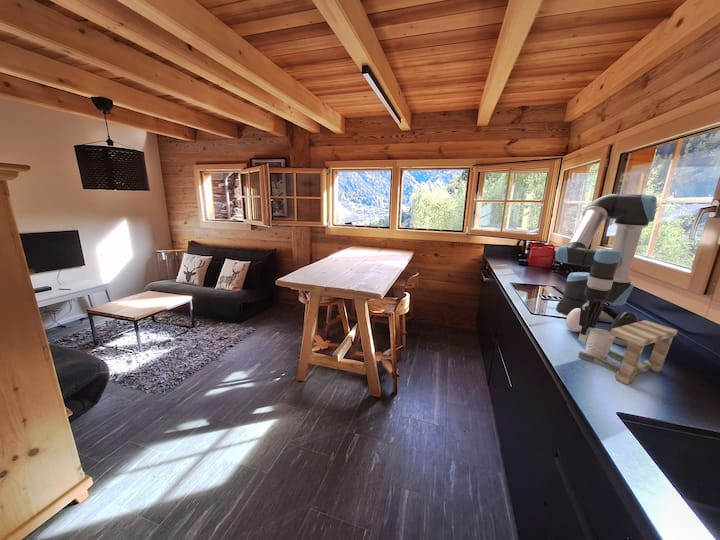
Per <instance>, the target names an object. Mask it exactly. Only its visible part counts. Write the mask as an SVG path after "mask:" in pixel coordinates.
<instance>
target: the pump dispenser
mask: <svg viewBox="0 0 720 540" xmlns="http://www.w3.org/2000/svg"><path fill="white" fill-rule="evenodd" d="M636 322H640V321H639V317H638V316H637V314H636V313H634V312H632V311H628V310H627V311H625V310H624V311H622V312H620V313H619V314H618V315H617V316H616V317H615V318H614V320H612V322H611V324H610V326H609V328H608V330H607V331H609V332H610V331H611V329H613V328H617V327H621V326H624V325H628V324H632V323H636ZM628 342H629V341H626V340H623V339H621V338H618V337H616V336H615V339H614V341H613V343H612V344H616V345H617V344H618V345H619V346H620V345H621V346H620V347H627V345H628Z"/></svg>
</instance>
